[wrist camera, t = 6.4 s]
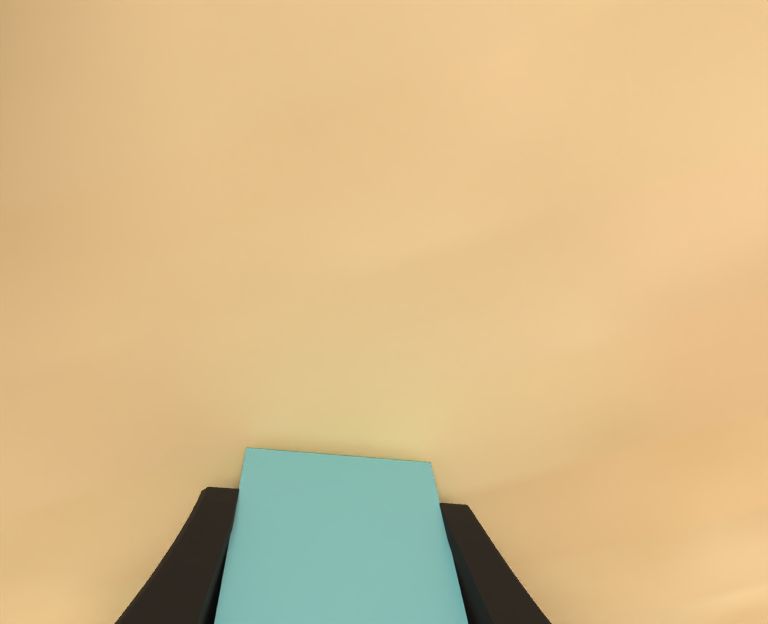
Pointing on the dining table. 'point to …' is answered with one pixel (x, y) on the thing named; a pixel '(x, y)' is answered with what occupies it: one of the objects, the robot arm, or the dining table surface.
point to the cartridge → (338, 544)
